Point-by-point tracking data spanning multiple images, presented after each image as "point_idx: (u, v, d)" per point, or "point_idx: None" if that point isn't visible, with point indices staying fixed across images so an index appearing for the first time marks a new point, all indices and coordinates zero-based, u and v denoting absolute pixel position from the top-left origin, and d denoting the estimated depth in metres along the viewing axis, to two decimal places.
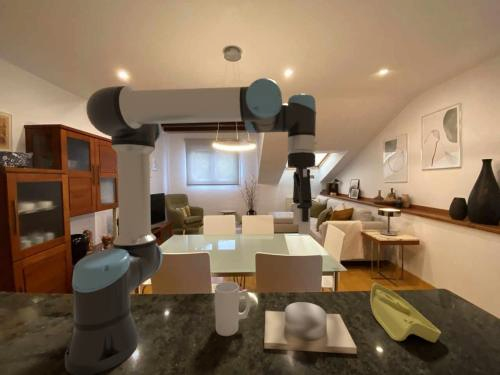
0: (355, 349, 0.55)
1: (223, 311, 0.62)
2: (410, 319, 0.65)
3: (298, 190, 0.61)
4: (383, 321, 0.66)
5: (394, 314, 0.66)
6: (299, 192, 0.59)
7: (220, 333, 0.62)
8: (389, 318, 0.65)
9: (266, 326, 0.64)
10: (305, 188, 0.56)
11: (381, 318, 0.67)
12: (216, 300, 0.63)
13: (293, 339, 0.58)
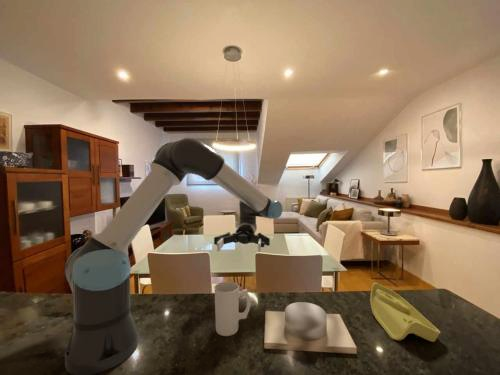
0: (355, 349, 0.55)
1: (223, 311, 0.62)
2: (410, 319, 0.65)
3: (253, 236, 0.87)
4: (383, 320, 0.67)
5: (394, 313, 0.66)
6: (257, 236, 0.86)
7: (220, 333, 0.62)
8: (389, 317, 0.66)
9: (266, 326, 0.64)
10: None
11: (381, 317, 0.68)
12: (216, 300, 0.63)
13: (293, 339, 0.58)
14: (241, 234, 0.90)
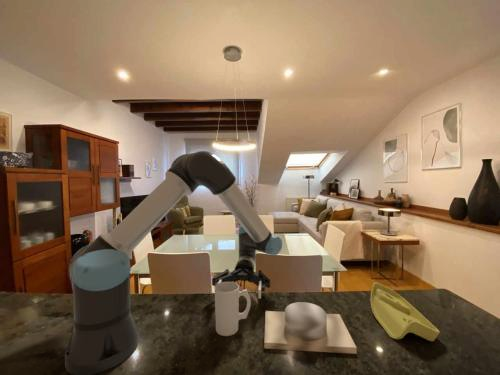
0: (355, 349, 0.55)
1: (223, 311, 0.62)
2: (409, 318, 0.65)
3: (253, 275, 0.83)
4: (382, 320, 0.67)
5: (393, 312, 0.66)
6: (257, 276, 0.82)
7: (220, 333, 0.62)
8: (388, 317, 0.66)
9: (266, 326, 0.64)
10: None
11: (380, 317, 0.68)
12: (216, 300, 0.63)
13: (293, 339, 0.58)
14: (240, 272, 0.86)
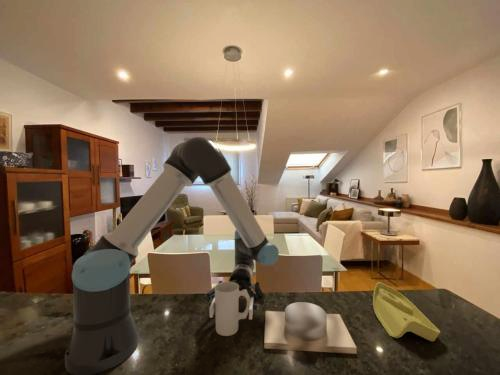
0: (355, 349, 0.55)
1: (223, 311, 0.61)
2: (410, 318, 0.65)
3: (247, 289, 0.72)
4: (383, 319, 0.68)
5: (394, 312, 0.66)
6: None
7: (220, 333, 0.62)
8: (389, 316, 0.66)
9: (266, 326, 0.64)
10: None
11: (381, 316, 0.69)
12: (216, 300, 0.63)
13: (293, 339, 0.58)
14: None
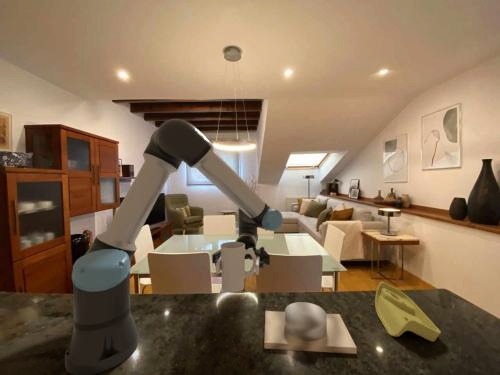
0: (355, 349, 0.55)
1: (230, 267, 0.61)
2: (411, 318, 0.65)
3: None
4: (384, 318, 0.68)
5: (395, 311, 0.67)
6: (257, 252, 0.71)
7: (226, 290, 0.62)
8: (389, 315, 0.67)
9: (266, 326, 0.64)
10: None
11: (383, 315, 0.69)
12: (222, 257, 0.63)
13: (293, 339, 0.58)
14: None
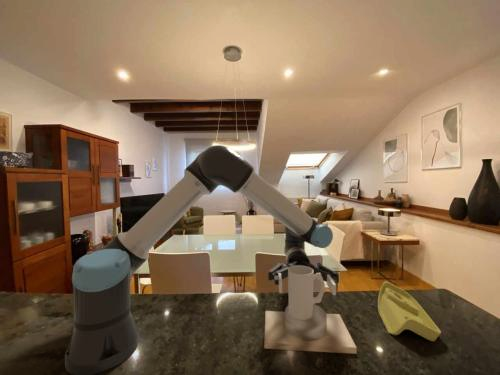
0: (355, 349, 0.55)
1: (301, 294, 0.59)
2: (413, 317, 0.65)
3: (315, 269, 0.70)
4: (385, 316, 0.69)
5: (396, 310, 0.67)
6: (321, 269, 0.70)
7: (297, 317, 0.60)
8: (390, 314, 0.67)
9: (266, 326, 0.64)
10: None
11: (384, 314, 0.70)
12: (292, 283, 0.60)
13: (293, 339, 0.58)
14: None
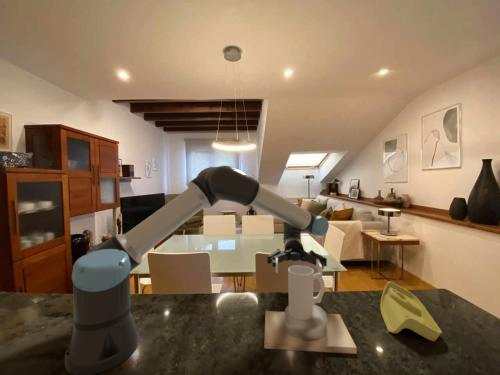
0: (355, 349, 0.55)
1: (301, 294, 0.59)
2: (414, 317, 0.65)
3: (307, 254, 0.83)
4: (386, 315, 0.69)
5: (397, 310, 0.67)
6: (312, 255, 0.82)
7: (297, 317, 0.60)
8: (392, 313, 0.68)
9: (266, 326, 0.64)
10: None
11: (386, 313, 0.70)
12: (292, 283, 0.60)
13: (293, 339, 0.58)
14: (293, 252, 0.86)
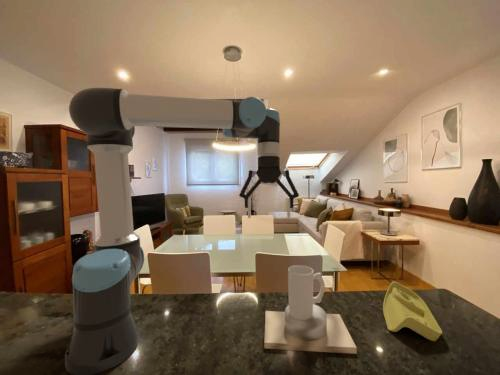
0: (355, 349, 0.55)
1: (301, 294, 0.59)
2: (416, 317, 0.65)
3: (280, 186, 0.79)
4: (388, 315, 0.69)
5: (399, 309, 0.68)
6: (285, 187, 0.78)
7: (297, 317, 0.60)
8: (393, 312, 0.68)
9: (266, 326, 0.64)
10: (293, 184, 0.79)
11: (388, 312, 0.71)
12: (292, 283, 0.60)
13: (293, 339, 0.58)
14: (266, 177, 0.79)
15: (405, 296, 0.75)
